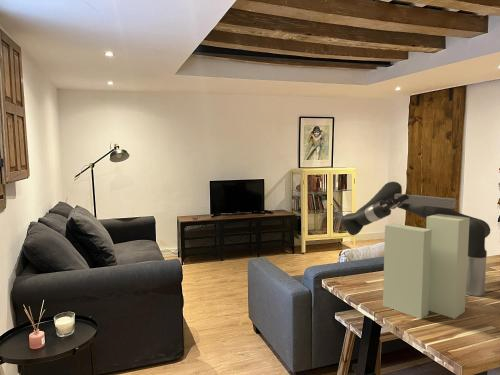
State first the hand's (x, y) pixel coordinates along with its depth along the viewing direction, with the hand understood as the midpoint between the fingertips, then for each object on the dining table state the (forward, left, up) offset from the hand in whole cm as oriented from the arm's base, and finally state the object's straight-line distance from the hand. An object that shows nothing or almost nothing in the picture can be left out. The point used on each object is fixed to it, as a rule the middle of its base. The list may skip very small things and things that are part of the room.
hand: (409, 195), depth 156 cm
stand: (0, +16, -45) cm, 48 cm away
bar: (0, +6, -3) cm, 7 cm away
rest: (+12, +6, -45) cm, 47 cm away
